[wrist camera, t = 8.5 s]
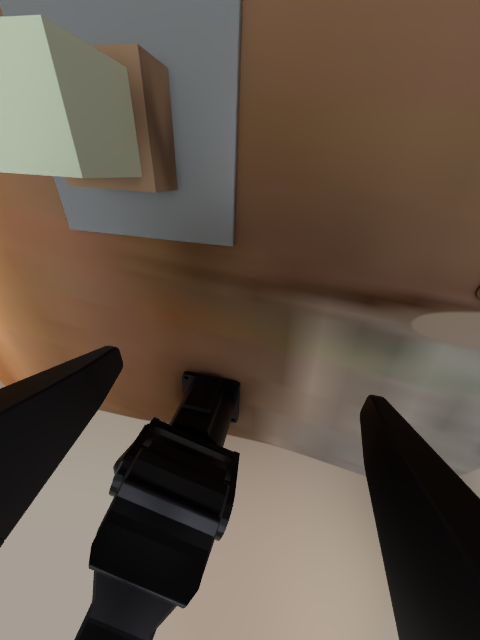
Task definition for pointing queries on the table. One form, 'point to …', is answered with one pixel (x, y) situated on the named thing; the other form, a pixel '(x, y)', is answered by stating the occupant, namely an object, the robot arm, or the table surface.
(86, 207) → the slate pad
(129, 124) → the sage cube
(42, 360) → the table surface
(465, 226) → the table surface
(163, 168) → the walnut block
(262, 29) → the table surface
